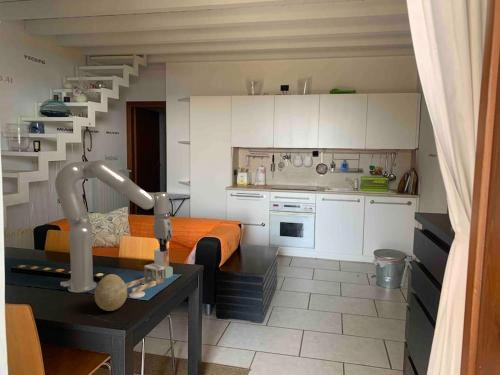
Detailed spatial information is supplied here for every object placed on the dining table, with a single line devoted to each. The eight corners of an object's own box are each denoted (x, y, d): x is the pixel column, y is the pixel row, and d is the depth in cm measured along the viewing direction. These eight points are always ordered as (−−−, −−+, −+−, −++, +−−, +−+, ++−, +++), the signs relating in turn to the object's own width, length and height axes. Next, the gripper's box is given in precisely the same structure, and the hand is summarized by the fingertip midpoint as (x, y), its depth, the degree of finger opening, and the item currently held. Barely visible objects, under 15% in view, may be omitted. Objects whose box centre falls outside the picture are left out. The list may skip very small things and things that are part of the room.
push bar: (144, 285, 178) (144, 281, 178) (140, 284, 180) (140, 279, 180) (163, 279, 188) (163, 274, 187) (159, 277, 190) (159, 273, 190)
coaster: (130, 299, 161) (130, 297, 161) (127, 293, 167) (127, 292, 167) (146, 296, 164) (146, 295, 164) (143, 291, 170) (143, 290, 170)
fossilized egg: (133, 304, 156) (132, 270, 154) (117, 317, 143) (116, 281, 142) (105, 302, 158) (105, 268, 156) (88, 314, 145) (87, 278, 144)
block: (165, 279, 187) (165, 269, 187) (159, 277, 190) (159, 267, 189) (172, 276, 191) (172, 267, 191) (166, 274, 194) (166, 265, 194)
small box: (163, 269, 202) (163, 251, 201) (154, 268, 203) (153, 250, 202) (169, 265, 210) (169, 247, 209) (160, 264, 211) (160, 246, 210)
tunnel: (132, 293, 167) (132, 276, 167) (121, 288, 173) (121, 272, 172) (164, 282, 182) (163, 266, 181) (152, 278, 187) (152, 263, 187)
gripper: (177, 216, 183) (178, 251, 185) (158, 213, 192) (159, 247, 194) (165, 219, 177) (167, 255, 179) (146, 215, 186) (148, 250, 188)
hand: (163, 251), depth 186 cm, fingers closed
